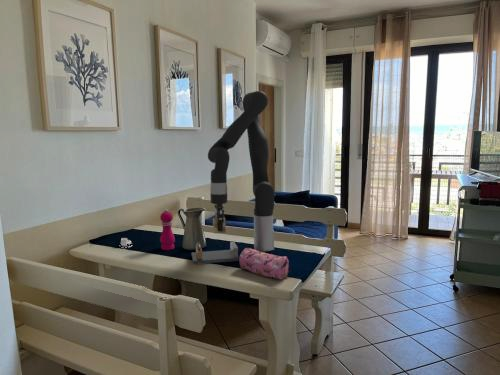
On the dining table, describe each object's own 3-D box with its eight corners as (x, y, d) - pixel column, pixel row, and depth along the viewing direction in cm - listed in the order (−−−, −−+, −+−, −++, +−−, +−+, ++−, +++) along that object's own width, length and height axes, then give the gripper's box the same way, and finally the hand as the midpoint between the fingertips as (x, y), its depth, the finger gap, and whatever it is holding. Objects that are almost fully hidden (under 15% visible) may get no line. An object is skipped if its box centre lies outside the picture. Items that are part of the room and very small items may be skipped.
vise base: (234, 252, 176) (233, 241, 175) (238, 260, 164) (238, 248, 163) (191, 255, 172) (191, 244, 171) (193, 264, 160) (192, 252, 159)
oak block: (224, 229, 170) (223, 216, 169) (225, 232, 165) (225, 219, 164) (213, 230, 169) (212, 217, 168) (214, 233, 164) (214, 220, 163)
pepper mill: (171, 250, 179) (170, 210, 176) (157, 250, 180) (156, 210, 177) (177, 246, 186) (176, 207, 183) (164, 245, 187) (162, 207, 184)
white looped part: (127, 242, 194) (127, 235, 193) (137, 245, 189) (136, 237, 189) (113, 247, 187) (112, 239, 186) (122, 250, 182) (122, 242, 182)
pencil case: (292, 275, 147) (292, 254, 146) (279, 283, 140) (280, 260, 139) (249, 264, 160) (249, 244, 159) (236, 271, 153) (235, 250, 151)
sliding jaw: (200, 251, 171) (200, 241, 171) (202, 259, 162) (202, 248, 161) (196, 252, 171) (195, 241, 170) (197, 259, 161) (197, 248, 160)
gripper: (229, 194, 158) (230, 233, 160) (225, 189, 172) (225, 225, 174) (212, 195, 156) (212, 234, 159) (208, 190, 170) (209, 226, 173)
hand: (219, 229), depth 167 cm, fingers closed on oak block, 5 cm apart
